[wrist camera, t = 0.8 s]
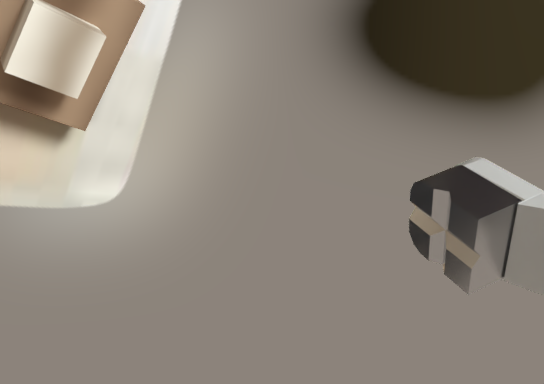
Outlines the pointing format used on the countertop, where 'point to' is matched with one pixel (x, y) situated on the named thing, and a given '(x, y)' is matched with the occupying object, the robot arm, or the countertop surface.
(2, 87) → the bench plate
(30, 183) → the countertop surface
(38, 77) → the tile
